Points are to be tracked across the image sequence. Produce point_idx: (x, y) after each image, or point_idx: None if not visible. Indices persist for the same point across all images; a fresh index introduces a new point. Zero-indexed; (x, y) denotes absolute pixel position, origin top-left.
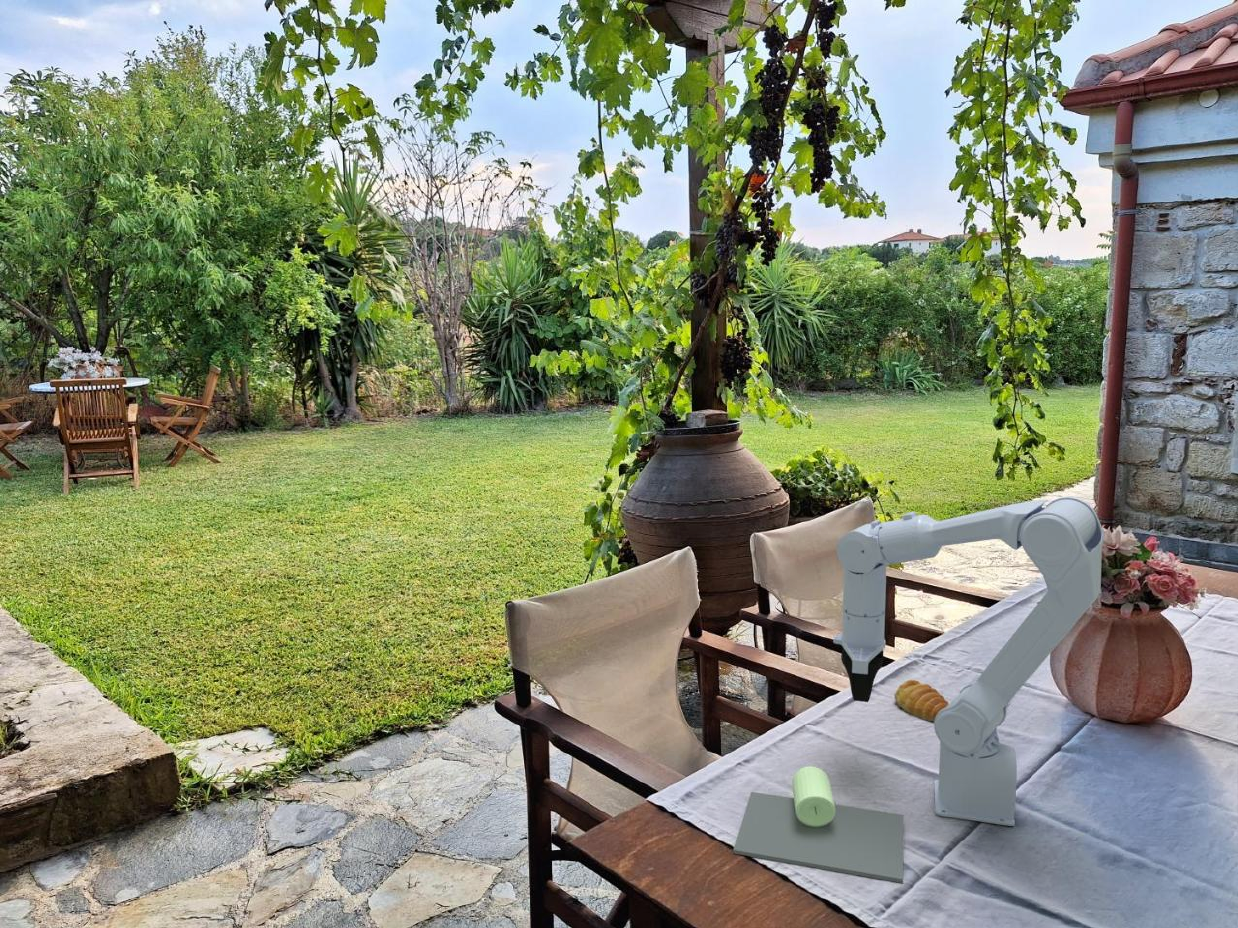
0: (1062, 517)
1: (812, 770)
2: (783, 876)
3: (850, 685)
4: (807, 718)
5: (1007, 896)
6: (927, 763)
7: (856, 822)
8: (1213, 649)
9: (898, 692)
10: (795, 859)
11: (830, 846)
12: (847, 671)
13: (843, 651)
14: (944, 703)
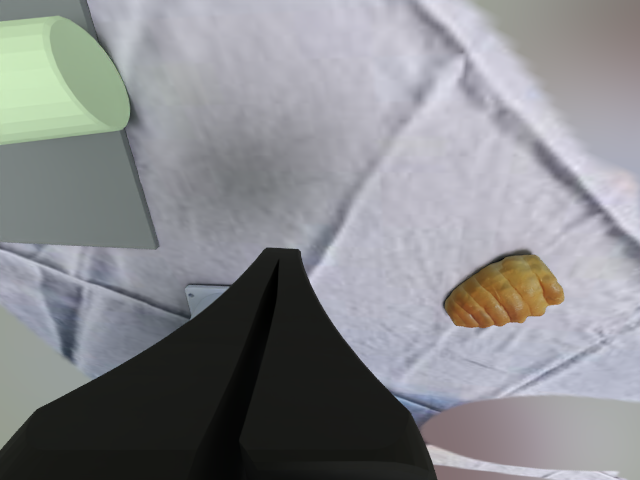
0: None
1: (29, 81)
2: None
3: (238, 278)
4: (496, 60)
5: (67, 330)
6: (324, 282)
7: (87, 179)
8: (552, 474)
9: (535, 268)
10: None
11: None
12: (151, 346)
13: (258, 469)
14: (475, 326)
